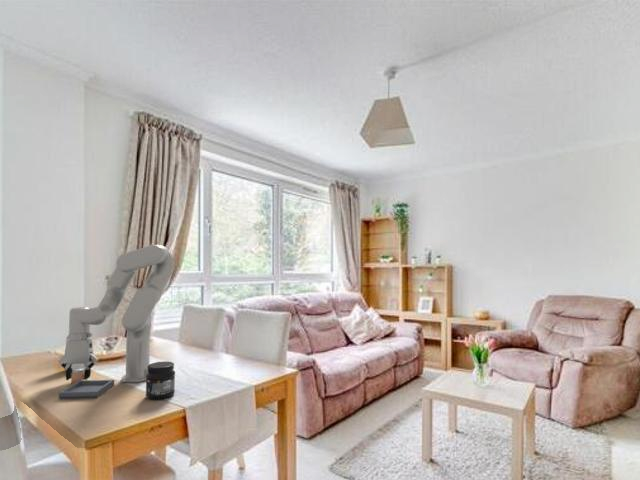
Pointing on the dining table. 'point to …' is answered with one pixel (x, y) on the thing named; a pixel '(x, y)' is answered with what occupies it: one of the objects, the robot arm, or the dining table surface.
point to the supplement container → (160, 380)
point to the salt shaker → (77, 375)
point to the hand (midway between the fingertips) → (78, 378)
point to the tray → (86, 389)
